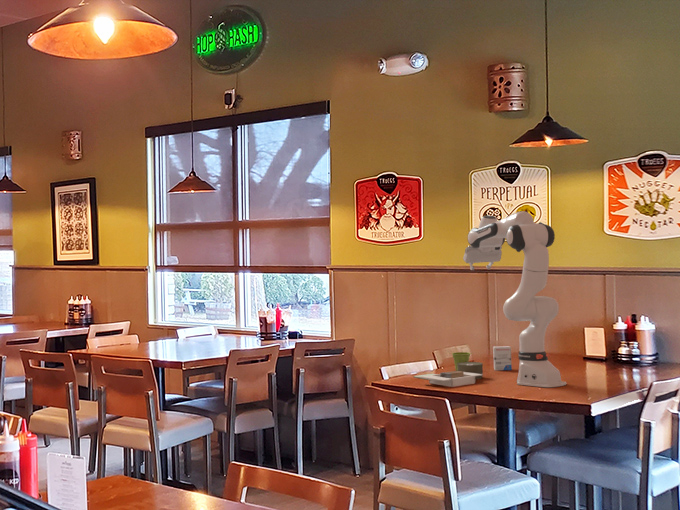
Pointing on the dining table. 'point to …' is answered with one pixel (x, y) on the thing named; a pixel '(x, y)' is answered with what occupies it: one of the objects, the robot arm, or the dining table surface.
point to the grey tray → (467, 379)
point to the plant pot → (460, 358)
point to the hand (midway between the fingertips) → (480, 269)
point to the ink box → (502, 358)
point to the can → (471, 368)
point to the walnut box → (452, 374)
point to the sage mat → (423, 375)
